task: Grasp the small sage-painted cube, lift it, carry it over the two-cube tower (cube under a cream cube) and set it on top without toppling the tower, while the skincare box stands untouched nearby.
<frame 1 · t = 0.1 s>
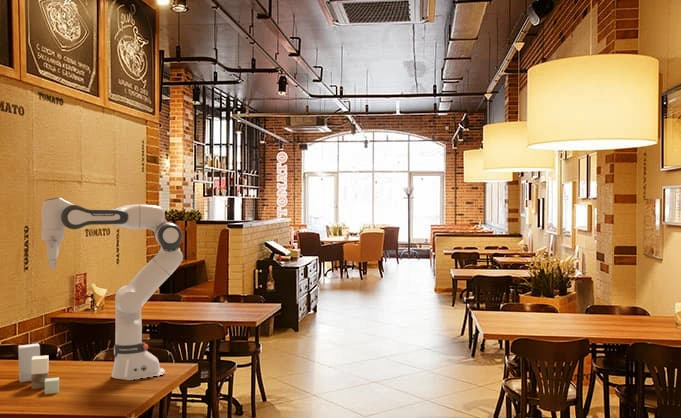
hand: (52, 268, 272), 48 cm above the table, fingers open, 8 cm apart
block top: (40, 372, 265), point 6 cm above the table, touching block bottom
skincare box: (29, 380, 275), on the table
block small: (51, 391, 257), on the table
block bottom: (40, 386, 265), on the table, touching block top
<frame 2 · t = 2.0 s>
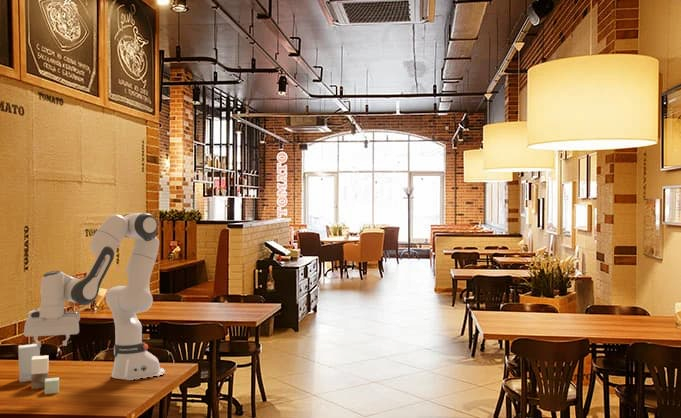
hand: (51, 346, 257), 18 cm above the table, fingers open, 8 cm apart
nothing on the table moved.
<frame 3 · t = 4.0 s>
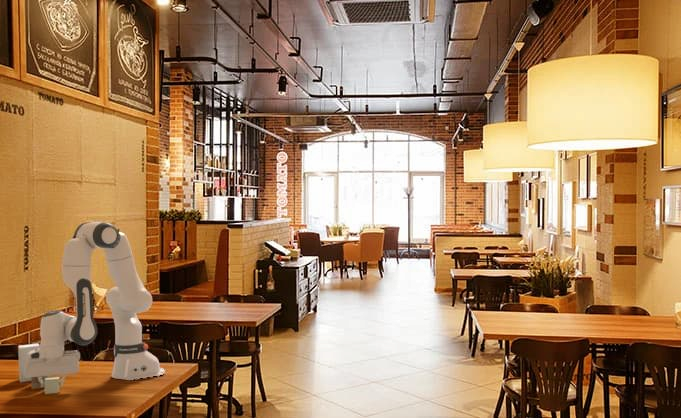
hand: (51, 386, 257), 2 cm above the table, fingers closed on block small, 5 cm apart
block small: (51, 391, 257), on the table, touching gripper
everything else where it was.
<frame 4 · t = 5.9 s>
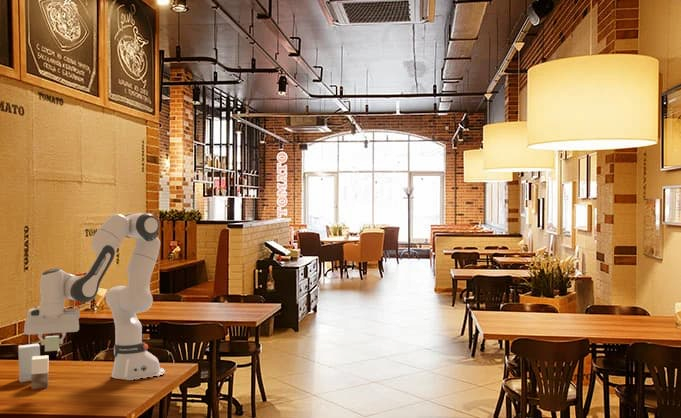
hand: (52, 344, 258), 19 cm above the table, fingers closed on block small, 5 cm apart
block small: (52, 349, 258), point 17 cm above the table, touching gripper
everything else where it was.
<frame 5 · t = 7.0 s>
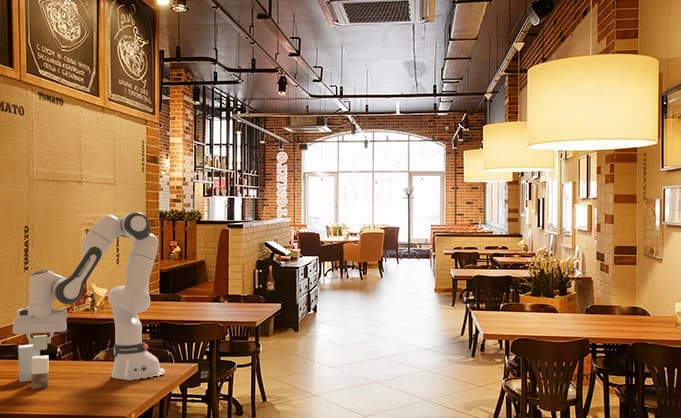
hand: (40, 343, 265), 18 cm above the table, fingers closed on block small, 5 cm apart
block small: (39, 348, 265), point 16 cm above the table, touching gripper
everything else where it was.
when the fingers open (16 cm above the table, at t = 7.8 s): block small drops 1 cm, resting on block top.
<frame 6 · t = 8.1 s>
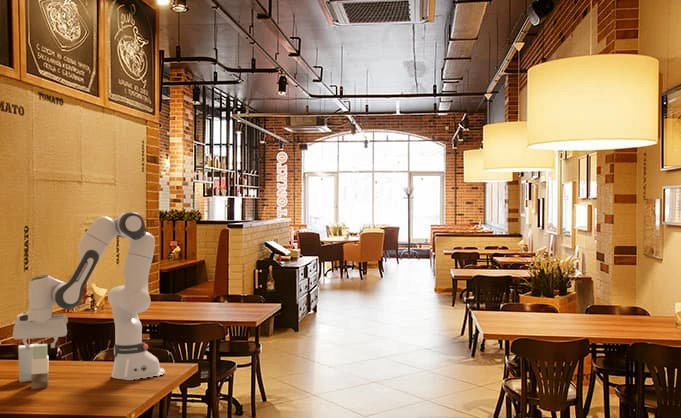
hand: (40, 348, 265), 16 cm above the table, fingers open, 8 cm apart
block top: (40, 372, 265), point 6 cm above the table, touching block bottom, block small
block small: (40, 357, 265), point 12 cm above the table, touching block top
everything else where it was.
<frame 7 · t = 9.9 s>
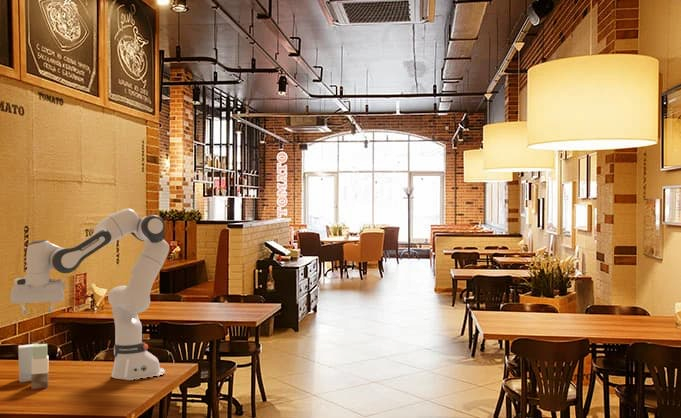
hand: (37, 313, 265), 30 cm above the table, fingers open, 8 cm apart
nothing on the table moved.
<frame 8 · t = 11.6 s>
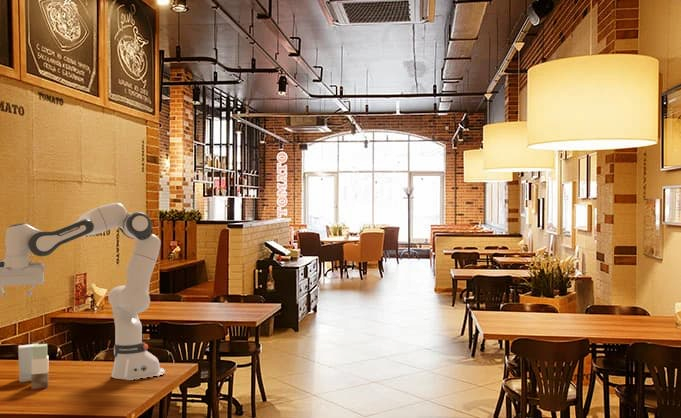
hand: (17, 296, 265), 37 cm above the table, fingers open, 8 cm apart
nothing on the table moved.
at the end: block small 0.0 cm from the block top (horizontally); block small point 11.9 cm above the table; block top moved 0.1 cm from its start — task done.
